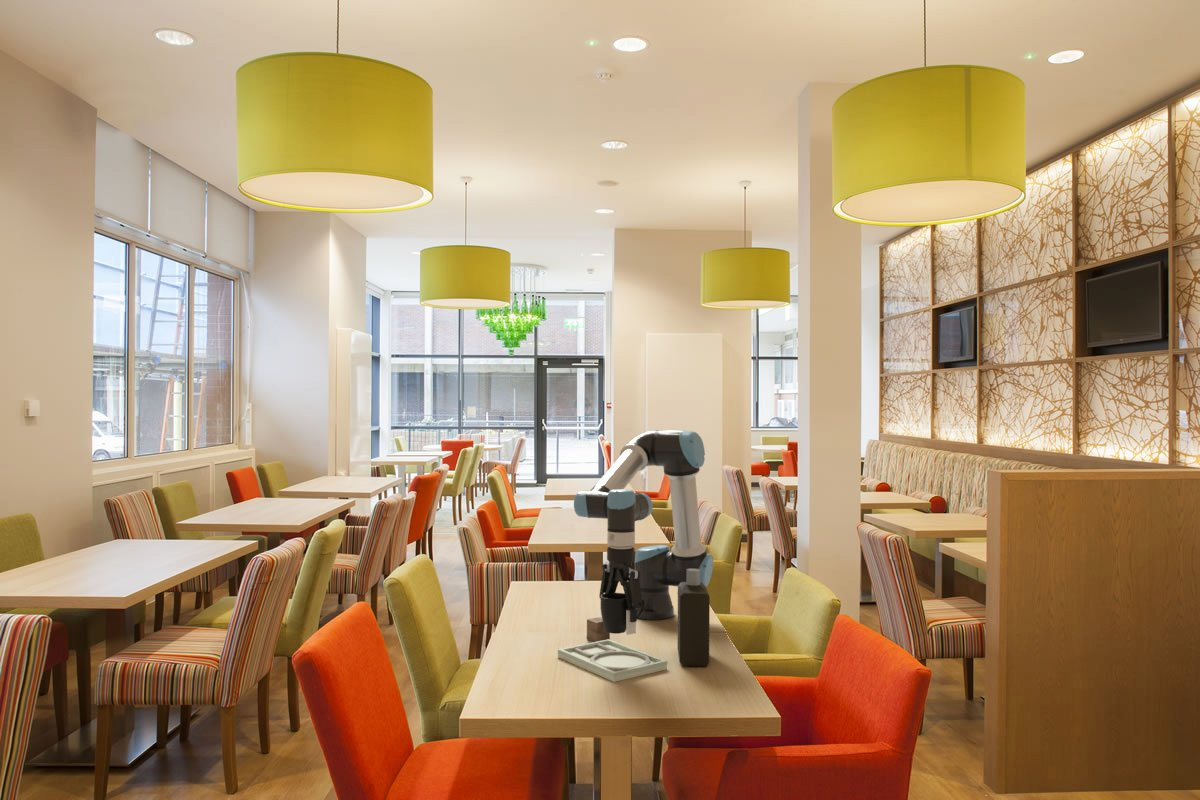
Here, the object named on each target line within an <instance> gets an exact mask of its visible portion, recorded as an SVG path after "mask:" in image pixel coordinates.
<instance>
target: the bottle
mask: <svg viewBox="0 0 1200 800" xmlns="http://www.w3.org/2000/svg"><path fill="white" fill-rule="evenodd" d="M710 605H711V603H710V595H709V592H708V589H707V586H705V585H704V584H703V583H702V582H700V569H691V568H690V569H687V582H681V583H680V584H679V585H678V587H677V653H678V659H679V663H680V664H681V666H682V667H683V668H684V667H685V668H707V666H708V665H709V664H710V612H711V611H710Z"/></svg>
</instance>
